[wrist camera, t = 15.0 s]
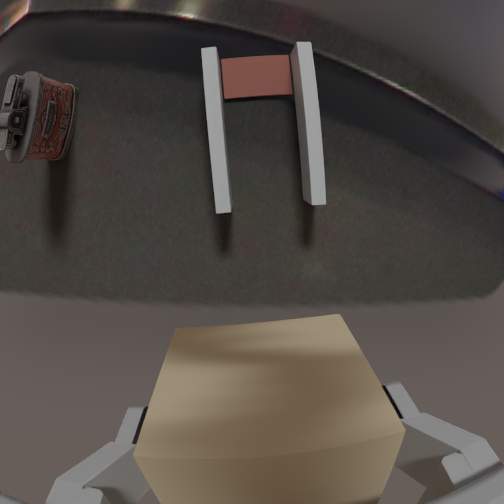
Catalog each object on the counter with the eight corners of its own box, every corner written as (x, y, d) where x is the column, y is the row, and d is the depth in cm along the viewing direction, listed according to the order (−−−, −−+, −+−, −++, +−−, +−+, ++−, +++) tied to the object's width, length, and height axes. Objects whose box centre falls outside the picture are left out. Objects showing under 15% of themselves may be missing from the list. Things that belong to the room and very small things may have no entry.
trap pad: (224, 99, 27) (224, 98, 27) (221, 60, 26) (221, 59, 26) (292, 94, 27) (292, 93, 27) (287, 56, 26) (288, 55, 26)
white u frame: (219, 206, 30) (216, 213, 26) (206, 61, 26) (201, 48, 22) (315, 198, 30) (326, 204, 26) (302, 55, 26) (310, 42, 22)
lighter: (68, 161, 28) (8, 167, 18) (44, 158, 28) (-18, 163, 18) (84, 85, 26) (29, 64, 16) (58, 84, 26) (1, 67, 16)
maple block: (210, 464, 11) (204, 563, 7) (175, 328, 10) (132, 455, 5) (328, 453, 11) (353, 549, 7) (339, 313, 10) (405, 430, 5)
